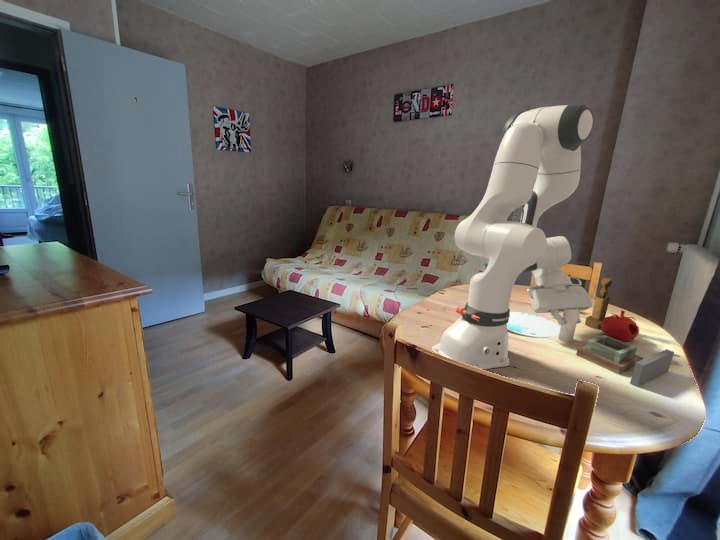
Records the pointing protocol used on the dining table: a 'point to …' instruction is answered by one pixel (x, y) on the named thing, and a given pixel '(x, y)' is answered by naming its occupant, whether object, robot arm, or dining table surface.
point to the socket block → (610, 354)
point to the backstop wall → (651, 367)
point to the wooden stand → (599, 306)
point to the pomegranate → (620, 327)
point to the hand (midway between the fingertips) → (570, 323)
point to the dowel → (568, 325)
